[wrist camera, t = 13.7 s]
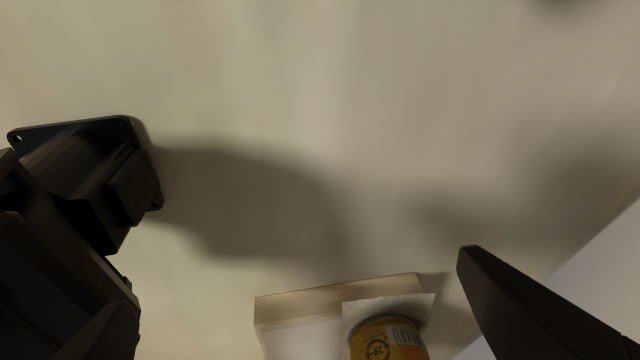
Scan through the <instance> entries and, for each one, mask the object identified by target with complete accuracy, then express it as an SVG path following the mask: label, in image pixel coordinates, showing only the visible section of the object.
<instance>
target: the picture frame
mask: <svg viewBox="0 0 640 360" xmlns="http://www.w3.org/2000/svg"><path fill="white" fill-rule="evenodd" d="M420 293H424V291H423V289H422V286H421V284H420V282H419V280H418V278H417V276H416V274H415V272H411V273H405V274H399V275H392V276H386V277H380V278H374V279H368V280H362V281H355V282H349V283H343V284H337V285H331V286H325V287H318V288H312V289H306V290H300V291H294V292H288V293H281V294H275V295H269V296H263V297H257V298H255V308H254V328H255V331H256V334H257V337H258V340H259V343H260V346H261V349H262V351H263V354H264V357H265V360H341V355H342V353H341V349H342V302H351V301H357V300H362V299H374V298H378V297H380V296H382V297H388V296H396V295H409V294H420ZM424 294H425V293H424ZM368 315H369V314H368Z"/></svg>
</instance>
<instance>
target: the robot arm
mask: <svg viewBox="0 0 640 360" xmlns="http://www.w3.org/2000/svg"><path fill="white" fill-rule="evenodd" d="M117 122H121V123H122V124H123V125H124V127H120V126H118V124H117ZM17 135H18V136H20V137H21V138H22V140H20V139H19V138H18V137H17ZM7 140H8V142H9V143H10V145H11V146H12V148H13V149H14V150H15V151H14V150H13V149H12V148H11V147H7V148H4V149H1V150H0V360H134V356H135V350H136V346H137V344H138V342H139V340H140V334H139V325H140V324H139V321H140V315H141V308H140V305H139V301H138V298H137V297H136V296H135V295H134V294H133V292H132V283H131V282H130V281H129V280H128V278H127V277H125V276H124V277H123V276H122V275H121V274H120V273H119V272H118V271H117V269H116V268H115V267H114V266H113V265H112V264H111V263H110V262H109V261H108V259H107V258H106V257H105V256H108V255H114V254H116V253H117V252H118V250H119V249H120V247H121V245H122V243H123V241H124V240H125V238H126V236H127V234H128V232H129V231H130V229H131V227H137V226H138V224H139V223H140V221H141V219H142V218H143V216H144V214H145V212H149V211H156V210H160V209H161V208H162V207H163V205H164V198H163V196H162V193H161V191H160V189H159V186H160V182H159V179H158V177H157V175H156V172H155V170H154V168H153V165H152V163H151V161H150V158H149V156H148V154H147V151H146V150H145V149H143V148H142V147H141V145H140V143H139V140H138V138H137V136H136V133H135V131H134V129H133V126H132V124H131V122H130V120H129V119H128V118H127V117H125V116H123V115H113V116H106V117H98V118H91V119H83V120H75V121H68V122H60V123H53V124H45V125H37V126H30V127H22V128H16V129H13V130H12V131H10V132H8V134H7ZM16 153H17V154H16ZM153 201H156V202H158V203H159V204H155V203H154V202H153ZM456 271H457V275H458V278H459V280H460V282H461V285H462V287H463V290H464V292H465V294H466V297H467V299H468V302H469V304H470V306H471V309H472V311H473V314H474V316H475V318H476V321H477V323H478V325H479V327H480V329H481V331H482V333H483V335H484V337H485V339H486V341H487V343H488V344H489V346H490V348H491V350H492V352H493V353H494V355H495V357H496V359H497V360H640V344H638V343H636V342H635V341H633V340H631V339H630V338H628V337H626V336H624V335H623V336H622V335H621V333H620V332H618V331H617V330H615V329H613V328H612V327H610V326H608V325H607V324H605V323H604V322H602V321H600V320H599V319H597V318H595V317H594V316H592V315H590V314H589V313H587V312H586V311H584V310H582V309H581V308H579V307H577V306H576V305H574V304H573V303H571V302H569V301H568V300H566V299H564V298H563V297H561V296H560V295H558V294H556V293H555V292H553V291H551V290H550V289H548V288H546V287H545V286H543V285H542V284H540V283H538V282H537V281H535V280H534V279H532V278H530V277H529V276H527V275H525V274H524V273H522V272H521V271H519V270H517V269H516V268H514V267H512V266H511V265H509V264H507V263H506V262H504V261H503V260H501V259H499V258H498V257H496V256H494V255H493V254H491V253H490V252H488V251H486V250H485V249H483V248H481V247H480V246H478V245H474V244H473V245H467V246H462V247H461V248H460V250H459V254H458V260H457V265H456Z"/></svg>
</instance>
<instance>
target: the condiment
mask: <svg viewBox="0 0 640 360" xmlns="http://www.w3.org/2000/svg"><path fill="white" fill-rule="evenodd" d="M435 294H436V293H428V294H424V293H420V294H409V295H396V296H388V297H382V296H380V297H378V298H374V299H362V300H357V301H351V302H342V349H341V353H342V355H341V360H430V358H429V355H428V352H427V350H426V347H425V345H424V342H423V340H424V334H425V331H426V327H427V323H428V322H429V317H430V313H431V308H432V305H433V302H434V298H435ZM368 314H369V315H368Z"/></svg>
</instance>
